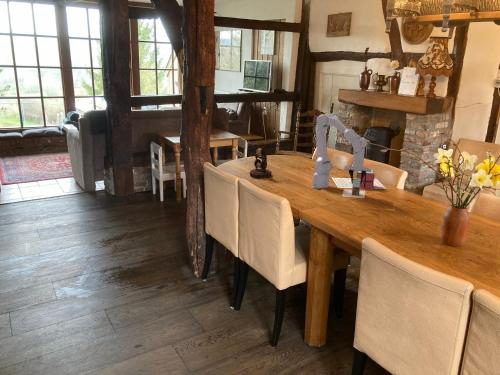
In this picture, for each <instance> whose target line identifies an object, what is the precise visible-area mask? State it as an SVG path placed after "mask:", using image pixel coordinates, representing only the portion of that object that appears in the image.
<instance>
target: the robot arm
mask: <svg viewBox="0 0 500 375" xmlns="http://www.w3.org/2000/svg"><path fill="white" fill-rule="evenodd" d="M330 126H333V127H334V128H336V129H337V130H338V131H340V132H341V133H342V134H343V138H345V139H346V140H347V141H348V142H349V143H350V144H351V145H352V148H353V155H352V156H353V157H352V166H351V165H350V166H349V165H348V166H345V165H344V167H343V170H344V171H348V174H349V176H350V180H351V185H353V178H354V172H356V171H362V172H361V180H360V184H361V183H362V180H363V178H364V176H365V174H366V172H371V170H372V167H365V166H364V161H365V151H366V150H365V149H366V148H367V146H368V141H367V139H366V138H365V137H361V136H362V135H359V134H358V133H356V132H355V130H354V129H352V128H350V129H349V128H347V126H346V125H344V123H342V121H341V120H339V118H338V117H337V116H336V115H335V114H334V113H333V112H331V113H326V114H319V116H317V118H316V125H315V136H316V137H315V138H316V147H317V156H318V157H317V159H316V160H315V166H314V170H315V172H314V173H313V177H312V178H313V179H312V189H317V190H318V189H320V190H322V189H326V188H329V184H330V173H331V171H332V169H333V163H332V162H331V159H330V157H329V156H328V146H327V145H328V144H327V136H326V130H327V129H328V128H329V127H330Z"/></svg>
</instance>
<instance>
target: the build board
mask: <svg viewBox="0 0 500 375" xmlns="http://www.w3.org/2000/svg"><path fill="white" fill-rule="evenodd" d="M365 195H366V191H365V190H360V192H359V196H357V195H352V189H345V188H344V189H343V192H342V195H341V196H342V197H348V198H355V199H356V198H358V199H365Z"/></svg>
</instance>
